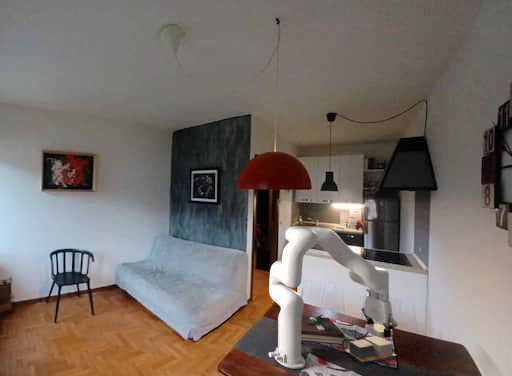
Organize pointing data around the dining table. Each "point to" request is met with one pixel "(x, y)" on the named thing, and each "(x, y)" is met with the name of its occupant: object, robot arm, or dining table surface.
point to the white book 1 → (376, 329)
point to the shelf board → (370, 357)
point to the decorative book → (320, 331)
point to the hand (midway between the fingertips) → (378, 332)
